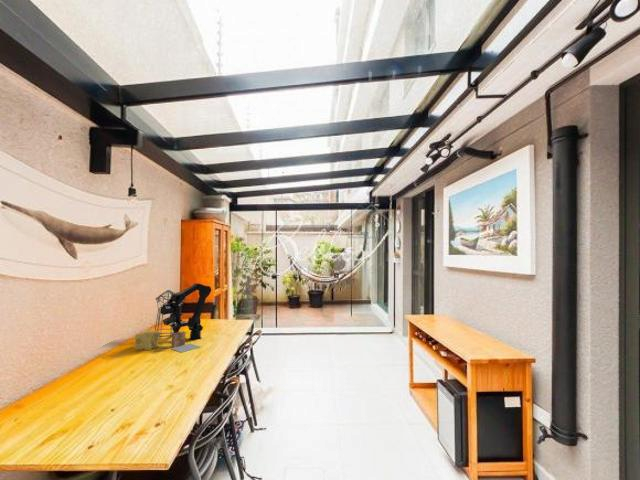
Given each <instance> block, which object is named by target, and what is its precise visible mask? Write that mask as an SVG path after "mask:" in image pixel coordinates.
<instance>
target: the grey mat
mask: <svg viewBox="0 0 640 480" xmlns="http://www.w3.org/2000/svg"><path fill="white" fill-rule="evenodd" d="M199 347H200V348H201V346H200V345H196V344H193V343H187V344H186V343H185V345H183V346H179V347H175V348H173V347H171V350H172V351H175V352H178V353H185V352H189V351H192V350H196V349H199Z"/></svg>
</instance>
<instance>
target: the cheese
mask: <svg viewBox="0 0 640 480" xmlns="http://www.w3.org/2000/svg"><path fill="white" fill-rule="evenodd" d="M159 332H160V330H158V331H157V330H156V331H155V330H142V331H141V332H139V333H136V334H135V340H134V349H135V350H136V351H137V350H139V351H141V350H145V351H150V350H151V351H152V349H154V348H156V347H157V346H158V345H159V340H160V337H159Z"/></svg>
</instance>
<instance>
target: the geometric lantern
mask: <svg viewBox="0 0 640 480" xmlns="http://www.w3.org/2000/svg"><path fill="white" fill-rule="evenodd" d="M174 293H175V291H172V290H170V289H167V290H166V291H164V292H163V293H160V294H159V295H158V296H157V297H156V298H155V300H156V303H157V313H156V314H157V315H156V321H155V327H154V331H159V338H161V337H162V335H165V334H166V335H165V337H166V338H165V337H164V338H163V340H165V339H166V340H168V339H171V338H172V333H174V332H173V329H172V327H171V326H170V328H162V327H163V320H164V319H163V318H164V315H162V314H161V312H160V309H161V307H162V306H163V304H167V303H168V301H169V299H170V296H171V295H172V294H174ZM166 295H167V296H166ZM161 303H162V304H161ZM159 305H160V307H159ZM171 314H172V313H171ZM160 320H161V322H160ZM159 327H160V328H159ZM163 330H170V332H161V331H163ZM168 334H169V335H168ZM167 337H168V338H167Z"/></svg>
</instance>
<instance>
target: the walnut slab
mask: <svg viewBox="0 0 640 480" xmlns="http://www.w3.org/2000/svg"><path fill="white" fill-rule="evenodd" d="M183 345H186V331H185V330H181V331H180V330H179V332H176V333H172V337H171V348H175V347H179V346H183Z"/></svg>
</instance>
